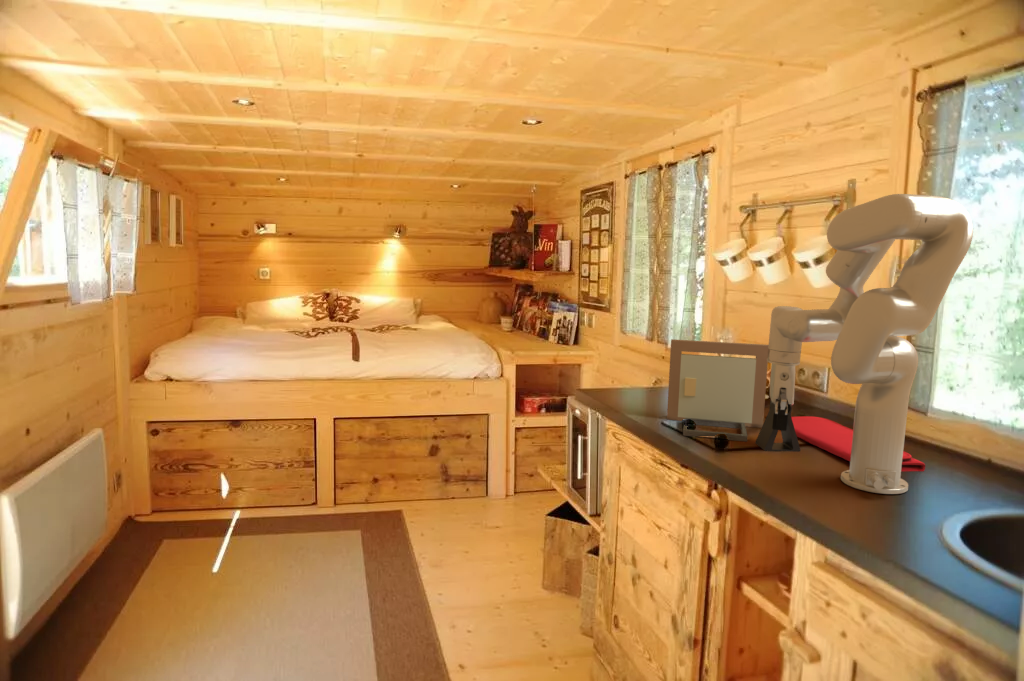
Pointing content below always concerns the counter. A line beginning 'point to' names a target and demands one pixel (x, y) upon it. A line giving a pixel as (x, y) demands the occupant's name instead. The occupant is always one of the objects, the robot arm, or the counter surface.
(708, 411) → the tan picture frame
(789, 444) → the phone stand
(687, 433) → the grey flat square frame
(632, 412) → the counter surface
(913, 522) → the counter surface
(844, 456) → the dish drying mat
